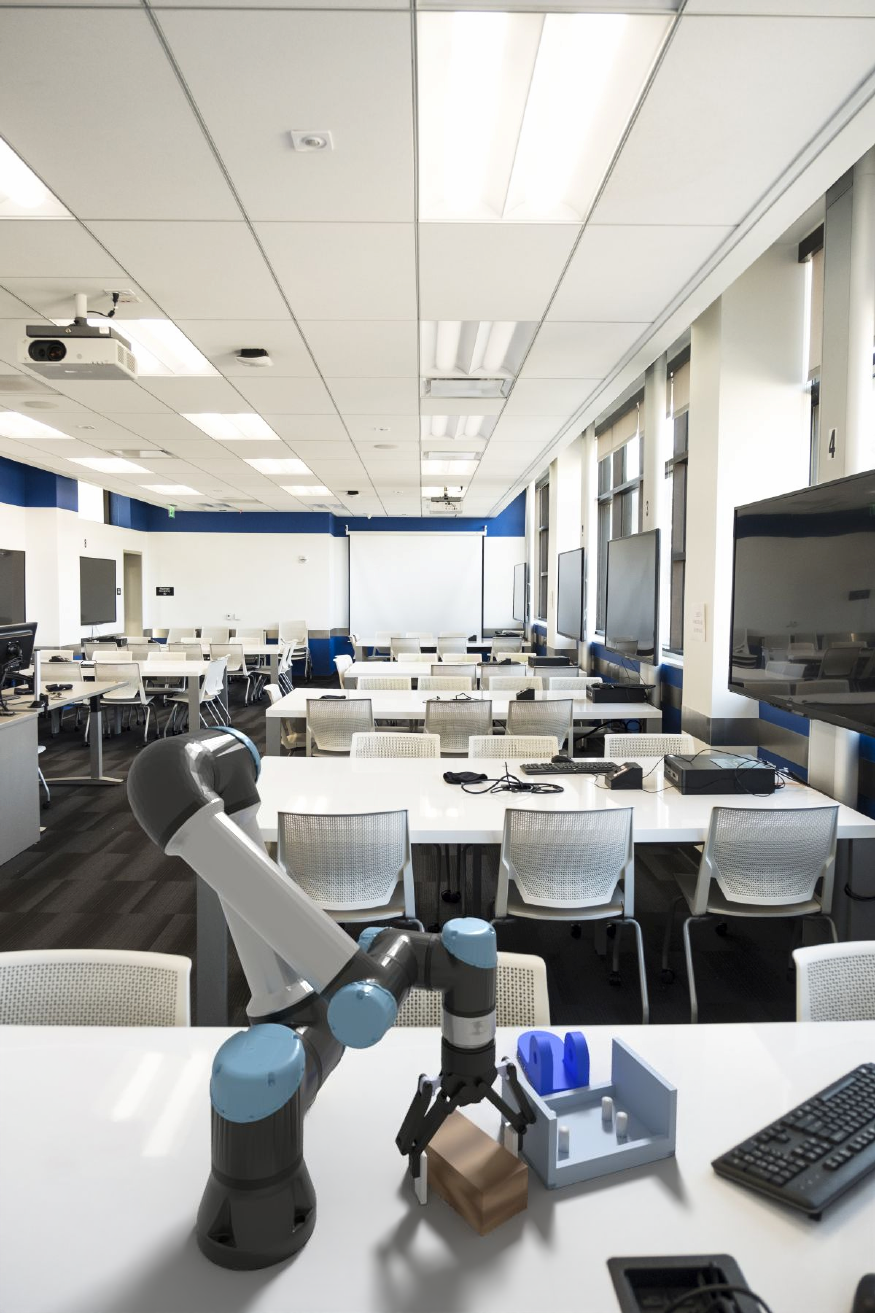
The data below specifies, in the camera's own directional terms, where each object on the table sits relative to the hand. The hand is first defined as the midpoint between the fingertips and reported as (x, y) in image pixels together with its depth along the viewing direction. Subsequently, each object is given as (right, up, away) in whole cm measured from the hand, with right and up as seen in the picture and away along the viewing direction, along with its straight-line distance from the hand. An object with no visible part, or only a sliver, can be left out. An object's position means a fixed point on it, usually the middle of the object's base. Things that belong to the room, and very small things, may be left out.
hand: (466, 1185), depth 107 cm
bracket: (+15, +1, +29) cm, 33 cm away
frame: (+19, 0, +10) cm, 21 cm away
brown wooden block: (0, 0, 0) cm, 0 cm away
